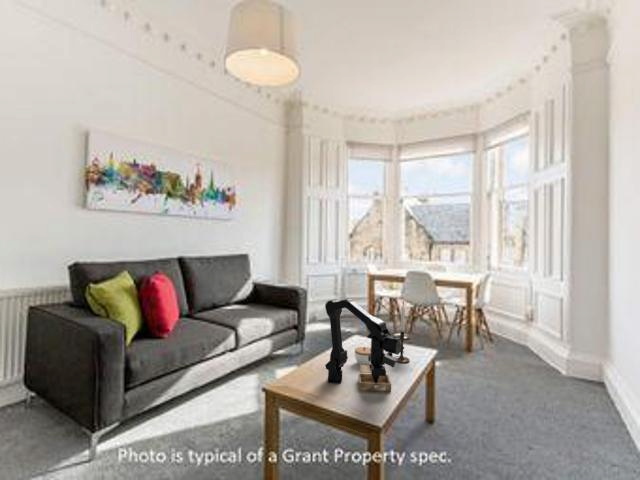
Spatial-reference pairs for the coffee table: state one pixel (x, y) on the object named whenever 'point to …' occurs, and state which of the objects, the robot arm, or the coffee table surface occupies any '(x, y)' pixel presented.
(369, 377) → the carton
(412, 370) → the coffee table surface
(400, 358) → the candlestick
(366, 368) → the far flap
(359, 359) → the lidded jar
